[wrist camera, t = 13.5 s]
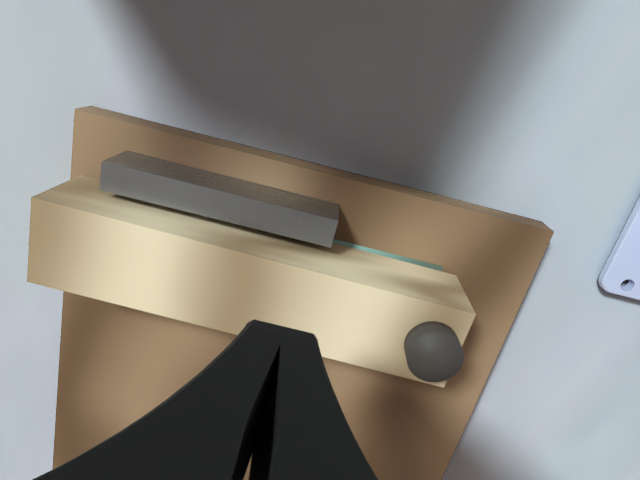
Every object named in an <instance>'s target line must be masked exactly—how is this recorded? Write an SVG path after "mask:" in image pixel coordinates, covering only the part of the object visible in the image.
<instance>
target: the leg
mask: <svg viewBox="0 0 640 480" xmlns="http://www.w3.org/2000/svg"><path fill="white" fill-rule="evenodd" d="M99 185H100V180H96V179H93V178H89V177H85V176H78V177H76V178H74V179H72V180H69V181H67V182H65V183H63V184H60V185H58V186H56V187H54V188H51V189H49V190H47V191H45V192H42V193H40V194H38V195H36V196H33V197H31V215H30V235H29V255H28V275H27V282H31V283H35V284H39V285H43V286H46V287H50V288H54V289H58V290H62V291H66V292H70V293H74V294H78V295H82V296H86V297H90V298H94V299H98V300H102V301H105V302H109V303H113V304H117V305H121V306H125V307H129V308H133V309H137V310H141V311H145V312H149V313H153V314H157V315H160V316H164V317H168V318H172V319H176V320H180V321H184V322H188V323H192V324H196V325H200V326H204V327H208V328H212V329H215V330H219V331H223V332H227V333H231V334H235V335H238V334H239V333H240V332H241V331H242V330H243V328H244V327H245V326H246V324H247V323H248V322H250V321H252V320H254V319H255V320H259V321H263V322H267V323H272V324H276V325H280V326H284V327H288V328H292V329H296V330H301V331H305V332H309V333H313V334H314V335H315V337H316V338H317V340H318V344H319V348H320V352H321V356H322V357H325V358H329V359H333V360H337V361H341V362H345V363H349V364H353V365H357V366H361V367H365V368H369V369H373V370H377V371H380V372H384V373H388V374H392V375H396V376H400V377H404V378H408V379H412V380H416V381H420V382H424V383H428V384H432V385H435V386H439V387H443V388H444V386H445V384H446V382H447V379H449V378H451V377H453V376H454V375H455V374H457V372H458V371H459V370H460V369H461V367H462V365H463V361H464V353H463V350H462V345H463V343H464V341H465V338H466V336H467V334H468V332H469V329H470V327H471V325H472V323H473V320H474V318H475V316H476V313H475V311H474V309H473V307H472V305H471V303H470V302H469V300H468V298H467V296H466V294H465V292H464V290H463V288H462V286H461V284H460V282H459V280H458V278H457V276H456V275H453V274H449V273H445V272H442V271H438V270H434V269H430V268H427V267H423V266H419V265H415V264H412V263H408V262H404V261H400V260H397V259H393V258H389V257H385V256H382V255H378V254H374V253H370V252H367V251H363V250H359V249H355V248H352V247H348V246H344V245H340V244H337V243H333V242H332V246H331V248H330V247H326V246H322V245H318V244H314V243H310V242H306V241H302V240H298V239H294V238H290V237H286V236H282V235H278V234H274V233H270V232H266V231H262V230H258V229H254V228H250V227H246V226H242V225H238V224H234V223H230V222H226V221H222V220H218V219H214V218H210V217H206V216H202V215H198V214H194V213H190V212H186V211H181V210H177V209H173V208H169V207H165V206H161V205H157V204H153V203H149V202H145V201H141V200H137V199H133V198H129V197H125V196H121V195H117V194H113V193H109V192H105V191H101V190H99Z"/></svg>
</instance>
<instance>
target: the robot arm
mask: <svg viewBox="0 0 640 480" xmlns="http://www.w3.org/2000/svg"><path fill="white" fill-rule="evenodd" d="M627 279H629V282H628V284H627V285H625V286H623V287H620V286H621V283H622V282H623V281H625V280H627ZM598 282H599V285H600V286H601V287H602V288H603V289H604V290H605V291H607V292H609V293H613V294H617V295H621V296H625V297H629V298H633V299H637V300H640V197H639V199H638V201H637V203H636V205H635V207H634V209H633V211H632V213H631V214H630V216H629V218H628V220H627V222H626V224H625V226H624V228H623V230H622V232H621V234H620V236H619V238H618V240H617V242H616V244H615V246H614V248H613V250H612V252H611V254H610V256H609V258H608V260H607V262H606V264H605V266H604V268H603V270H602V272H601V273H600V275H599V279H598ZM251 456H252V458H251ZM250 459H251V465H250V472H249V480H378V479H377V477H376V475H375V474H374V472H373V470H372V468H371V467H370V465H369V463H368V461H367V460H366V458H365V456H364V454H363V452H362V450H361V448H360V447H359V445H358V443H357V441H356V439H355V437H354V435H353V433H352V431H351V429H350V427H349V424H348V422H347V420H346V418H345V416H344V414H343V411H342V409H341V407H340V404H339V402H338V399H337V397H336V395H335V392H334V390H333V387H332V385H331V382H330V380H329V377H328V374H327V371H326V368H325V365H324V362H323V359H322V356H321V352H320V348H319V344H318V340H317V338H316V337H315V335H314V334H313V333H309V332H305V331H301V330H296V329H292V328H288V327H284V326H280V325H276V324H272V323H267V322H263V321H259V320H255V319H254V320H252V321H250V322H248V323H247V324H246V326H245V327H244V328H243V330H242V331H241V332H240V333H239V334H238V336H237V337H236V338H235V339H234V340H233V341H232V342H231V343H230V344H229V345H228V346H227V347H226V348H225V349H224V350H223V351H222V352H221V353H220V354H219V355H218V356H217V357H216V358H215V359H214V360H213V361H212V362H211V363H209V364H208V365H207V366H206V367H205V368H204V369H203V370H202V371H201V372H200V373H199V374H197V375H196V376H195V377H194V378H193V379H191V380H190V381H189V382H188V383H186V384H185V385H184V386H183V387H181V388H180V389H179V390H178V391H176V392H175V393H174V394H173V395H171V396H170V397H169V398H168V399H166V400H165V401H164V402H162V403H161V404H159V405H158V406H157V407H155V408H154V409H153V410H151V411H150V412H148V413H147V414H145V415H144V416H143V417H141V418H140V419H138V420H137V421H135V422H133V423H132V424H130V425H129V426H127V427H126V428H124V429H123V430H121V431H120V432H118V433H116V434H115V435H113V436H111V437H110V438H108V439H106V440H105V441H103V442H101V443H100V444H98V445H96V446H94V447H93V448H91V449H89V450H88V451H86V452H84V453H83V454H81V455H79V456H77V457H75V458H74V459H72V460H70V461H68V462H66V463H65V464H63V465H61V466H59V467H57V468H55V469H53V470H51V471H49V472H47V473H45V474H43V475H41V476H39V477H37V478H35V479H33V480H243V479H244V476H245V473H246V471H247V468H248V465H249V462H250Z"/></svg>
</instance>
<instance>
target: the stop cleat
mask: <svg viewBox="0 0 640 480" xmlns="http://www.w3.org/2000/svg"><path fill="white" fill-rule="evenodd" d="M99 190H101V191H105V192H109V193H113V194H117V195H121V196H125V197H129V198H133V199H137V200H141V201H145V202H149V203H153V204H157V205H161V206H165V207H169V208H173V209H177V210H181V211H186V212H190V213H194V214H198V215H202V216H206V217H210V218H214V219H218V220H222V221H226V222H230V223H234V224H238V225H242V226H246V227H250V228H254V229H258V230H262V231H266V232H270V233H274V234H278V235H282V236H286V237H290V238H294V239H298V240H302V241H306V242H310V243H314V244H318V245H322V246H326V247H330V248H331V246H332V242H333V239H334V235H335V232H336V228H337V224H338V220H339V204H337V203H333V202H329V201H325V200H321V199H318V198H314V197H310V196H306V195H302V194H298V193H294V192H290V191H286V190H282V189H278V188H274V187H270V186H266V185H262V184H258V183H254V182H251V181H247V180H243V179H239V178H235V177H231V176H227V175H223V174H219V173H215V172H211V171H207V170H203V169H199V168H195V167H191V166H187V165H184V164H180V163H176V162H172V161H168V160H164V159H160V158H156V157H152V156H148V155H144V154H140V153H136V152H132V151H128V150H127V151H124V152H122V153H120V154H117V155H115V156H113V157H110V158H108V159H105V160H103V161H102V162H101V174H100V185H99Z"/></svg>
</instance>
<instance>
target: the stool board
mask: <svg viewBox="0 0 640 480" xmlns="http://www.w3.org/2000/svg"><path fill="white" fill-rule="evenodd" d="M127 150H128V151H132V152H136V153H140V154H144V155H148V156H152V157H156V158H160V159H164V160H168V161H172V162H176V163H180V164H184V165H187V166H191V167H195V168H199V169H203V170H207V171H211V172H215V173H219V174H223V175H227V176H231V177H235V178H239V179H243V180H247V181H251V182H254V183H258V184H262V185H266V186H270V187H274V188H278V189H282V190H286V191H290V192H294V193H298V194H302V195H306V196H310V197H314V198H318V199H321V200H325V201H329V202H333V203H337V204H339V220H338V224H337V228H336V232H335V235H334V239H333V243H337V244H340V245H344V246H348V247H352V248H355V249H359V250H363V251H367V252H370V253H374V254H378V255H382V256H385V257H389V258H393V259H397V260H400V261H404V262H408V263H412V264H415V265H419V266H423V267H427V268H430V269H434V270H438V271H442V272H445V273H449V274H453V275H456V276H457V278H458V280H459V282H460V284H461V286H462V288H463V290H464V292H465V294H466V296H467V298H468V300H469V302H470V303H471V305H472V307H473V309H474V311H475V313H476V316H475V318H474V320H473V323H472V325H471V327H470V329H469V332H468V334H467V336H466V338H465V341H464V343H463V345H462V350H463V353H464V361H463V365H462V367H461V369H460V370H459V371H458V372H457V374H455V375H454V376H453V377H451V378H449V379H447V382H446V384H445V386H444V388H443V387H439V386H435V385H432V384H428V383H424V382H420V381H416V380H412V379H408V378H404V377H400V376H396V375H392V374H388V373H384V372H380V371H377V370H373V369H369V368H365V367H361V366H357V365H353V364H349V363H345V362H341V361H337V360H333V359H329V358H325V357H322V359H323V362H324V365H325V368H326V371H327V374H328V377H329V380H330V382H331V385H332V387H333V390H334V392H335V395H336V397H337V399H338V402H339V404H340V407H341V409H342V411H343V414H344V416H345V418H346V420H347V422H348V424H349V427H350V429H351V431H352V433H353V435H354V437H355V439H356V441H357V443H358V445H359V447H360V448H361V450H362V452H363V454H364V456H365V458H366V460H367V461H368V463H369V465H370V467H371V468H372V470H373V472H374V474H375V475H376V477H377V479H378V480H441V479H442V477H443V475H444V473H445V471H446V468H447V466H448V464H449V462H450V460H451V457H452V455H453V453H454V451H455V449H456V446H457V444H458V442H459V440H460V438H461V435H462V433H463V431H464V429H465V427H466V424H467V422H468V420H469V418H470V416H471V413H472V411H473V409H474V407H475V404H476V402H477V400H478V398H479V396H480V393H481V391H482V389H483V387H484V385H485V382H486V380H487V378H488V376H489V374H490V371H491V369H492V367H493V365H494V363H495V360H496V358H497V356H498V354H499V352H500V349H501V347H502V345H503V343H504V341H505V338H506V336H507V334H508V332H509V330H510V327H511V325H512V323H513V321H514V319H515V316H516V314H517V312H518V310H519V308H520V305H521V303H522V301H523V299H524V297H525V294H526V292H527V290H528V288H529V285H530V283H531V281H532V279H533V277H534V274H535V272H536V270H537V268H538V266H539V263H540V261H541V259H542V257H543V255H544V252H545V250H546V248H547V246H548V244H549V241H550V239H551V237H552V235H553V233H554V231H552V230H551V229H550V228H549V227H548V226H546V225H545V224H544V223H543V222H541V221H538V220H534V219H530V218H526V217H522V216H518V215H514V214H510V213H506V212H502V211H499V210H495V209H491V208H487V207H483V206H479V205H475V204H471V203H467V202H464V201H460V200H456V199H452V198H448V197H444V196H440V195H436V194H432V193H429V192H425V191H421V190H417V189H413V188H409V187H405V186H401V185H397V184H393V183H390V182H386V181H382V180H378V179H374V178H370V177H366V176H362V175H358V174H355V173H351V172H347V171H343V170H339V169H335V168H331V167H327V166H323V165H319V164H316V163H312V162H308V161H304V160H300V159H296V158H292V157H288V156H284V155H281V154H277V153H273V152H269V151H265V150H261V149H257V148H253V147H249V146H246V145H242V144H238V143H234V142H230V141H226V140H222V139H218V138H214V137H210V136H207V135H203V134H199V133H195V132H191V131H187V130H183V129H179V128H175V127H172V126H168V125H164V124H160V123H156V122H152V121H148V120H144V119H140V118H136V117H133V116H129V115H125V114H121V113H117V112H113V111H109V110H105V109H101V108H98V107H94V106H88V107H83V108H78V109H75V114H74V131H73V147H72V163H71V179H70V180H72V179H74V178H76V177H78V176H85V177H89V178H93V179H96V180H100V174H101V162H102V161H103V160H105V159H108V158H110V157H113V156H115V155H117V154H120V153H122V152H124V151H127ZM237 336H238V335H235V334H231V333H227V332H223V331H219V330H215V329H212V328H208V327H204V326H200V325H196V324H192V323H188V322H184V321H180V320H176V319H172V318H168V317H164V316H160V315H157V314H153V313H149V312H145V311H141V310H137V309H133V308H129V307H125V306H121V305H117V304H113V303H109V302H105V301H102V300H98V299H94V298H90V297H86V296H82V295H78V294H74V293H70V292H66V291H64V293H63V309H62V326H61V342H60V358H59V374H58V391H57V407H56V423H55V439H54V456H53V469H55V468H57V467H59V466H61V465H63V464H65V463H66V462H68V461H70V460H72V459H74V458H75V457H77V456H79V455H81V454H83V453H84V452H86V451H88V450H89V449H91V448H93V447H94V446H96V445H98V444H100V443H101V442H103V441H105V440H106V439H108V438H110V437H111V436H113V435H115V434H116V433H118V432H120V431H121V430H123V429H124V428H126V427H127V426H129V425H130V424H132V423H133V422H135V421H137V420H138V419H140V418H141V417H143V416H144V415H145V414H147V413H148V412H150V411H151V410H153V409H154V408H155V407H157V406H158V405H159V404H161V403H162V402H164V401H165V400H166V399H168V398H169V397H170V396H171V395H173V394H174V393H175V392H176V391H178V390H179V389H180V388H181V387H183V386H184V385H185V384H186V383H188V382H189V381H190V380H191V379H193V378H194V377H195V376H196V375H197V374H199V373H200V372H201V371H202V370H203V369H204V368H205V367H206V366H207V365H208V364H209V363H211V362H212V361H213V360H214V359H215V358H216V357H217V356H218V355H219V354H220V353H221V352H222V351H223V350H224V349H225V348H226V347H227V346H228V345H229V344H230V343H231V342H232V341H233V340H234V339H235V338H236V337H237ZM251 458H252V456H251ZM250 465H251V459H250V462H249V465H248V468H247V471H246V473H245V476H244V479H243V480H249V472H250Z"/></svg>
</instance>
